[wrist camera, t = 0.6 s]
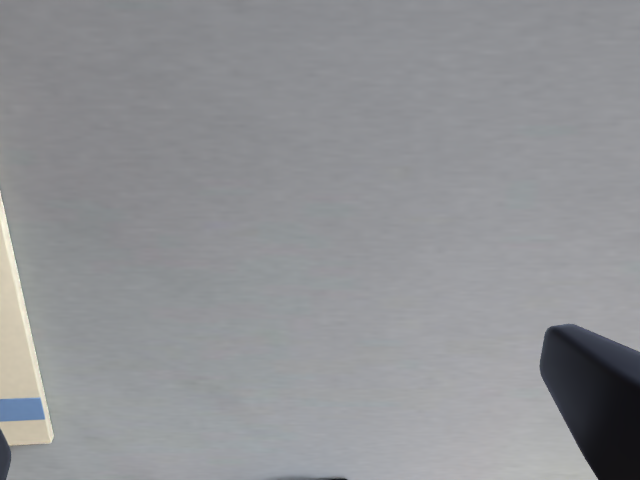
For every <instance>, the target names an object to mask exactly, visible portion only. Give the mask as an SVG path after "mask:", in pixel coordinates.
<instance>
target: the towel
mask: <svg viewBox="0 0 640 480" xmlns="http://www.w3.org/2000/svg"><path fill="white" fill-rule="evenodd" d="M0 428H1V430H2V432H3V434H4V436H5V438H6V440H7V442H8V444H9V446H14V445H32V444H50V443H51V442H52V440H53V438H54V434H53V429H52V425H51V420H50V416H49V411H48V406H47V402H46V397H45V393H44V388H43V384H42V379H41V374H40V370H39V365H38V361H37V356H36V352H35V347H34V343H33V338H32V333H31V329H30V324H29V320H28V315H27V311H26V306H25V302H24V297H23V292H22V288H21V283H20V279H19V274H18V270H17V265H16V261H15V256H14V251H13V247H12V242H11V238H10V233H9V229H8V224H7V220H6V215H5V210H4V206H3V201H2V197H1V192H0Z"/></svg>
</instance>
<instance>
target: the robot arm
mask: <svg viewBox="0 0 640 480" xmlns="http://www.w3.org/2000/svg"><path fill="white" fill-rule="evenodd" d="M540 372H541V376H542V378H543V380H544V382H545V384H546V386H547V388H548V390H549V392H550V394H551V396H552V397H553V399H554V401H555V403H556V405H557V407H558V409H559V411H560V413H561V415H562V416H563V418H564V420H565V422H566V424H567V426H568V428H569V430H570V432H571V433H572V435H573V437H574V439H575V441H576V443H577V445H578V447H579V448H580V450H581V452H582V454H583V456H584V457H585V459H586V461H587V462H588V464H589V466H590V467H591V469H592V470H593V472H594V473H595V475H596V477H597V478H598V480H640V352H638V351H636V350H634V349H631V348H629V347H626V346H624V345H622V344H619V343H617V342H615V341H612V340H610V339H608V338H605V337H603V336H600V335H598V334H596V333H593V332H591V331H589V330H586V329H584V328H582V327H579V326H577V325H574V324H564V325H557V326H552V327H550V328H548V329H547V331H546V332H545V336H544V342H543V348H542V353H541V359H540ZM10 462H11V451H10V447H9V444H8V442H7V440H6V438H5V436H4V434H3V432H2V430H1V428H0V480H6V477H7V474H8V470H9V467H10ZM333 480H346V479H333Z"/></svg>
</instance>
